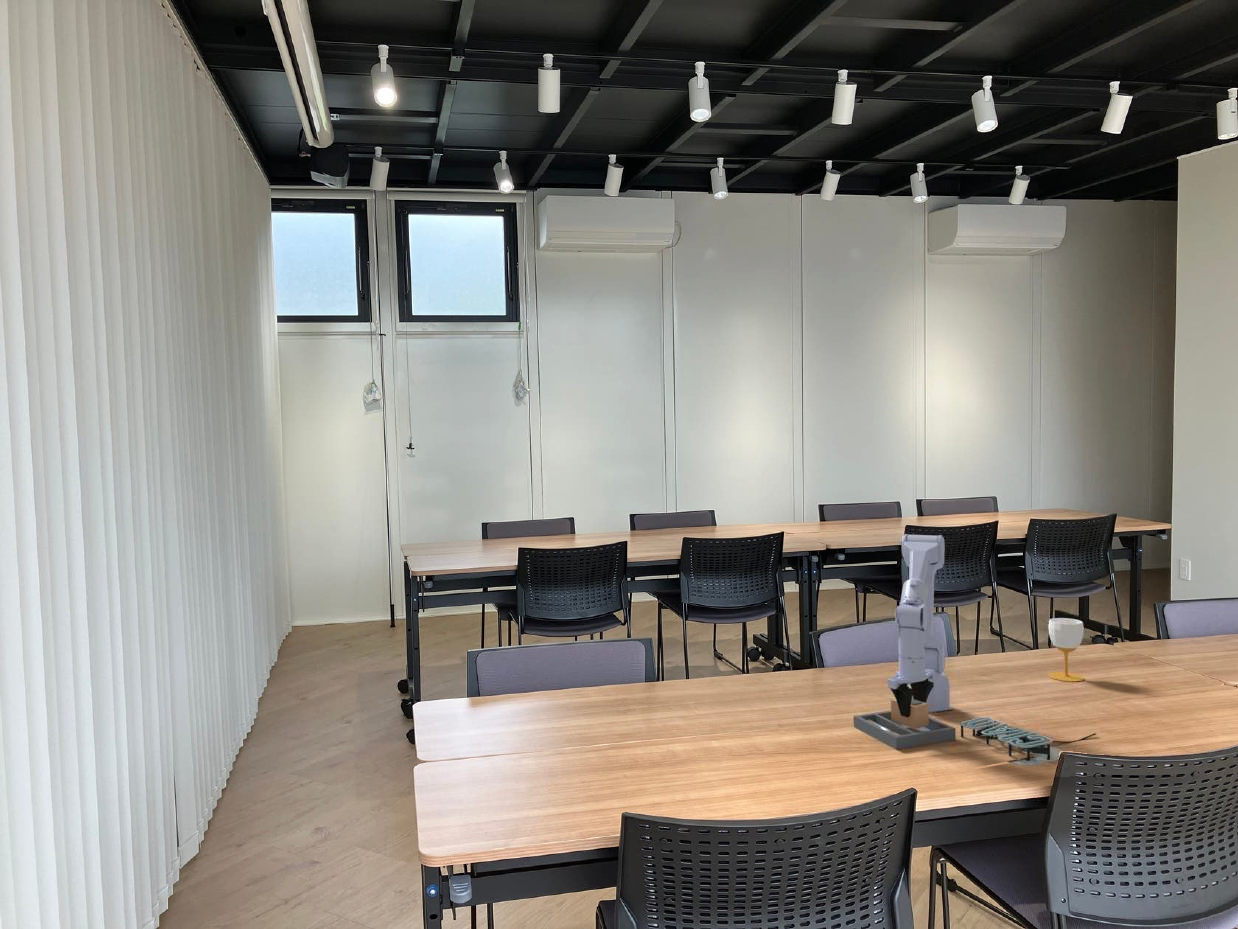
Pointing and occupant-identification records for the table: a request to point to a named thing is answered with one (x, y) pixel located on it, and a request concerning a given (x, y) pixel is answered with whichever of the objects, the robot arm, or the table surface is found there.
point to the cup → (1066, 643)
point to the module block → (911, 714)
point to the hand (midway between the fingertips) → (912, 714)
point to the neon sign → (1018, 741)
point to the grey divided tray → (903, 731)
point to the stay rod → (883, 727)
